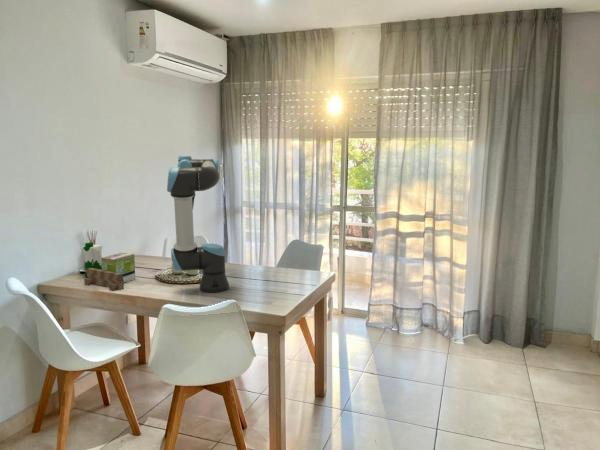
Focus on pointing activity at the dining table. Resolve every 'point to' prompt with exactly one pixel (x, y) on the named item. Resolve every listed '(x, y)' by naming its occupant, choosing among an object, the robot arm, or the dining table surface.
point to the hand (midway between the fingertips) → (187, 222)
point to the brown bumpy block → (104, 279)
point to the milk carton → (92, 256)
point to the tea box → (120, 265)
